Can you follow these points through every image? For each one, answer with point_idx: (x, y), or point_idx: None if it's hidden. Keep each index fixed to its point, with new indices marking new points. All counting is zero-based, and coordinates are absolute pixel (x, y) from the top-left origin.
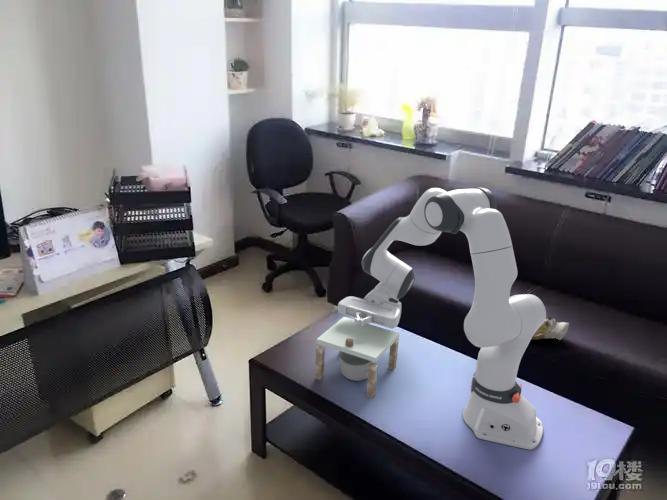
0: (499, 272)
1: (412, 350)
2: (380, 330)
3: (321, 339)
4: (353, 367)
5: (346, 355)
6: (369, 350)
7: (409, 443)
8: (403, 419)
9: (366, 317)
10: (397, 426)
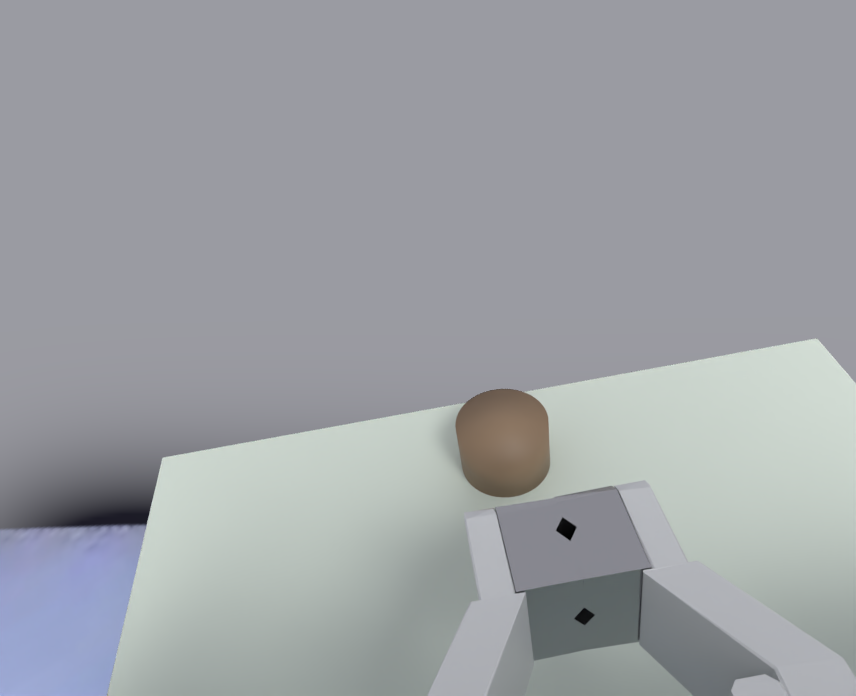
0: None
1: None
2: None
3: (778, 357)
4: None
5: None
6: (269, 520)
7: (16, 536)
8: (53, 658)
9: (495, 660)
10: (84, 590)
